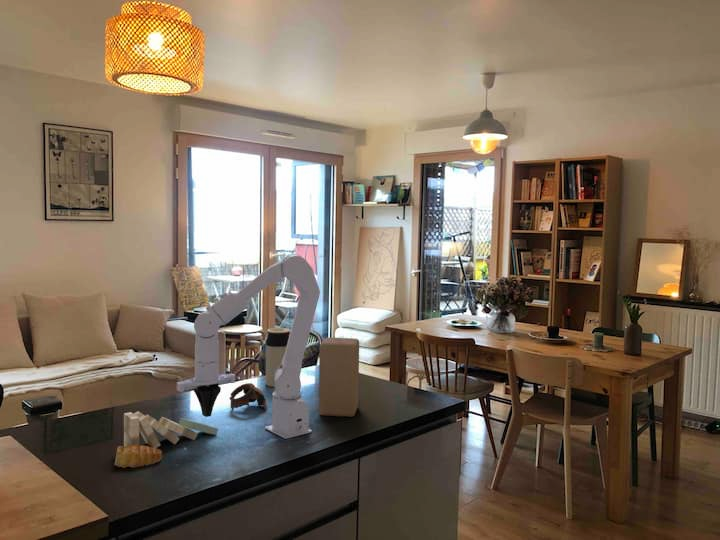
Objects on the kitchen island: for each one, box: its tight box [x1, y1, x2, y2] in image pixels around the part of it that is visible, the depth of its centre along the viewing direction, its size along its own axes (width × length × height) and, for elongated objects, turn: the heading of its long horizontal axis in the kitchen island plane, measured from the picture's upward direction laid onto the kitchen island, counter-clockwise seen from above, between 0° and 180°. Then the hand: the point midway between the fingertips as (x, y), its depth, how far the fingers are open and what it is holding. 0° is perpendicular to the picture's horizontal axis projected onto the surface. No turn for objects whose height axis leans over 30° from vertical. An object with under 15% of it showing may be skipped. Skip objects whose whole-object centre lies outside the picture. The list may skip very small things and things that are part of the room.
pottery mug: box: [229, 382, 268, 412], centre depth 165 cm, size 12×10×8 cm
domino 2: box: [133, 411, 161, 449], centre depth 134 cm, size 5×2×8 cm, turn 41°
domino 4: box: [158, 416, 199, 441], centre depth 139 cm, size 5×2×8 cm
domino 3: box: [145, 414, 180, 445], centre depth 136 cm, size 5×2×8 cm
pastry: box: [114, 444, 163, 469], centre depth 126 cm, size 9×7×4 cm
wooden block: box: [318, 337, 360, 418], centre depth 163 cm, size 10×10×20 cm
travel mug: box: [265, 327, 291, 388], centre depth 190 cm, size 8×8×18 cm
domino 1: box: [123, 411, 140, 447], centre depth 132 cm, size 5×2×8 cm, turn 41°
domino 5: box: [178, 417, 219, 436], centre depth 141 cm, size 5×2×8 cm
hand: (206, 415), depth 144 cm, fingers closed
